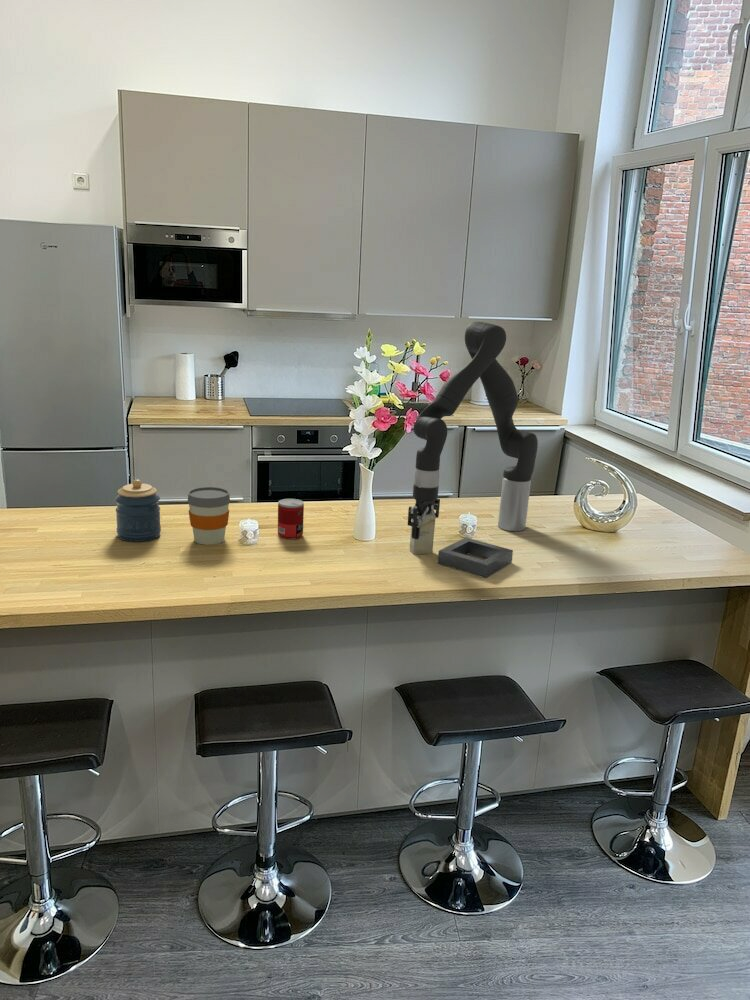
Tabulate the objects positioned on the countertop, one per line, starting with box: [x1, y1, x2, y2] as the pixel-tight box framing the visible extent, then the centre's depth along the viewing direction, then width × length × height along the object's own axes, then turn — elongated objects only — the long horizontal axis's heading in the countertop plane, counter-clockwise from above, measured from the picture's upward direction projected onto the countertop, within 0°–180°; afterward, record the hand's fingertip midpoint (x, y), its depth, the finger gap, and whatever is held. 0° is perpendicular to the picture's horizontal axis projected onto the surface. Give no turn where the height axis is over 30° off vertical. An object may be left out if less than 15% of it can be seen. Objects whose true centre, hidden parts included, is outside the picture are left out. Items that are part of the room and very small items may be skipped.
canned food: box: [277, 498, 305, 540], centre depth 243 cm, size 8×8×11 cm
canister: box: [114, 479, 162, 543], centre depth 235 cm, size 13×13×18 cm
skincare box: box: [409, 513, 436, 555], centre depth 235 cm, size 6×4×12 cm
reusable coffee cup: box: [187, 486, 231, 546], centre depth 235 cm, size 12×13×15 cm
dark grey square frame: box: [437, 537, 514, 579], centre depth 229 cm, size 16×16×4 cm
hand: (422, 535), depth 235 cm, fingers closed on skincare box, 7 cm apart
